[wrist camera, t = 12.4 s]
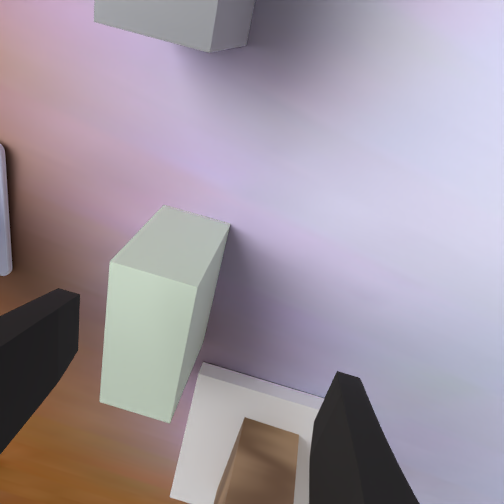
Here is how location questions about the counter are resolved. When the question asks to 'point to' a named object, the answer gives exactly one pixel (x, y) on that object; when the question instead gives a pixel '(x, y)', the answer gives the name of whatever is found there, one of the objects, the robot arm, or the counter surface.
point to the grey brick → (182, 21)
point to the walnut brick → (260, 466)
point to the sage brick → (159, 310)
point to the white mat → (237, 429)
